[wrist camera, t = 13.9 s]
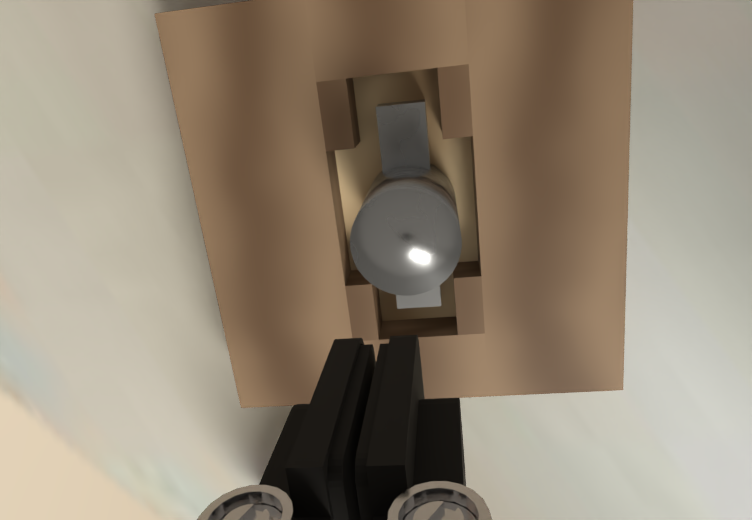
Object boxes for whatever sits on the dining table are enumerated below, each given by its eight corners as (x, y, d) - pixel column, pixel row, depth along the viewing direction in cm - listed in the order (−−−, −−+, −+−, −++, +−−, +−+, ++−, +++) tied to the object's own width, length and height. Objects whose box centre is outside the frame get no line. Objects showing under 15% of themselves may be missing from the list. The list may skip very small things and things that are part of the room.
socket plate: (613, -42, 23) (634, -53, 21) (607, 362, 29) (623, 389, 26) (180, 17, 25) (154, 13, 23) (255, 380, 31) (241, 407, 29)
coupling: (462, 291, 28) (469, 352, 22) (378, 297, 28) (364, 358, 23) (448, 96, 25) (453, 109, 19) (356, 106, 25) (333, 121, 20)
